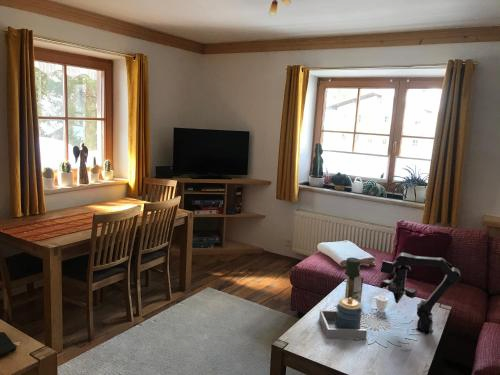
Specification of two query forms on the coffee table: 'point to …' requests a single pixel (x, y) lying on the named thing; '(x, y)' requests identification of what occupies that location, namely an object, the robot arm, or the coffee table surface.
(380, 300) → the cup
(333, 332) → the corral
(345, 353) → the coffee table surface
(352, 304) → the canister
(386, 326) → the coffee table surface
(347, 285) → the coffee box
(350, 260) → the stick grenade
